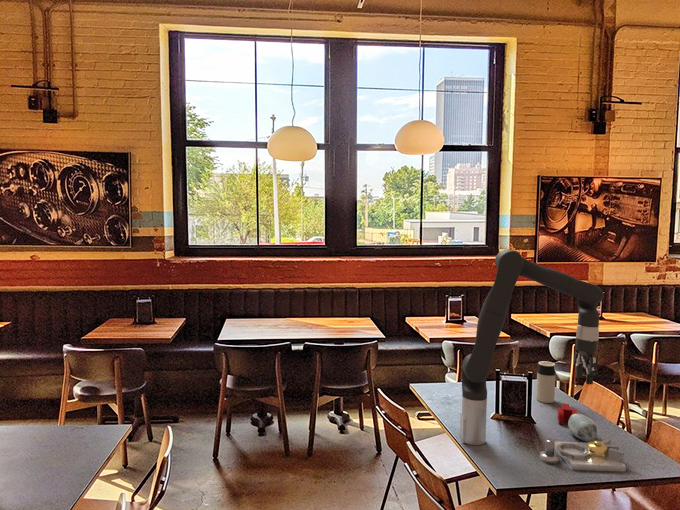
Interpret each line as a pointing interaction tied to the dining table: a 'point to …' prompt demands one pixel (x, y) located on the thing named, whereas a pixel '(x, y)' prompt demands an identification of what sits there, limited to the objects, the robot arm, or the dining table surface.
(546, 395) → the travel mug
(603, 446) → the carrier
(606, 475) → the dining table surface
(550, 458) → the silver knob
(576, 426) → the streaked stone egg
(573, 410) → the mechanical linkage
